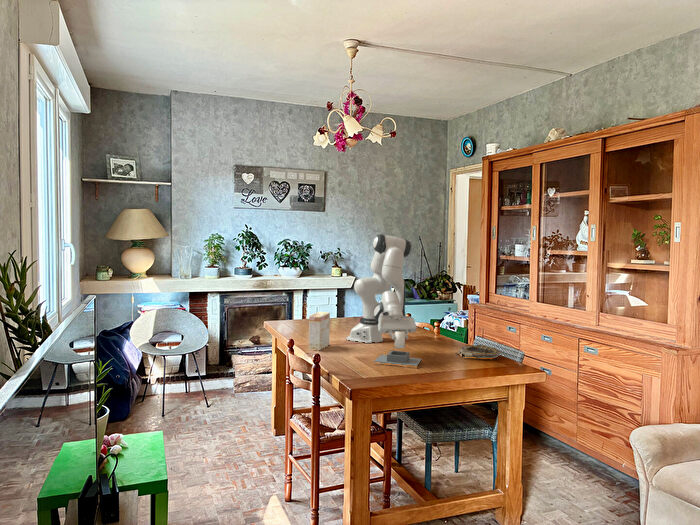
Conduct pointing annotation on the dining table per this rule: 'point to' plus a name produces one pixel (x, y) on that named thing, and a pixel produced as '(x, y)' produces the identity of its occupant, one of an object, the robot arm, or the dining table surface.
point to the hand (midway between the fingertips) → (400, 338)
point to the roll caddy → (398, 358)
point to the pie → (480, 351)
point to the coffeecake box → (319, 330)
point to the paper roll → (399, 339)
